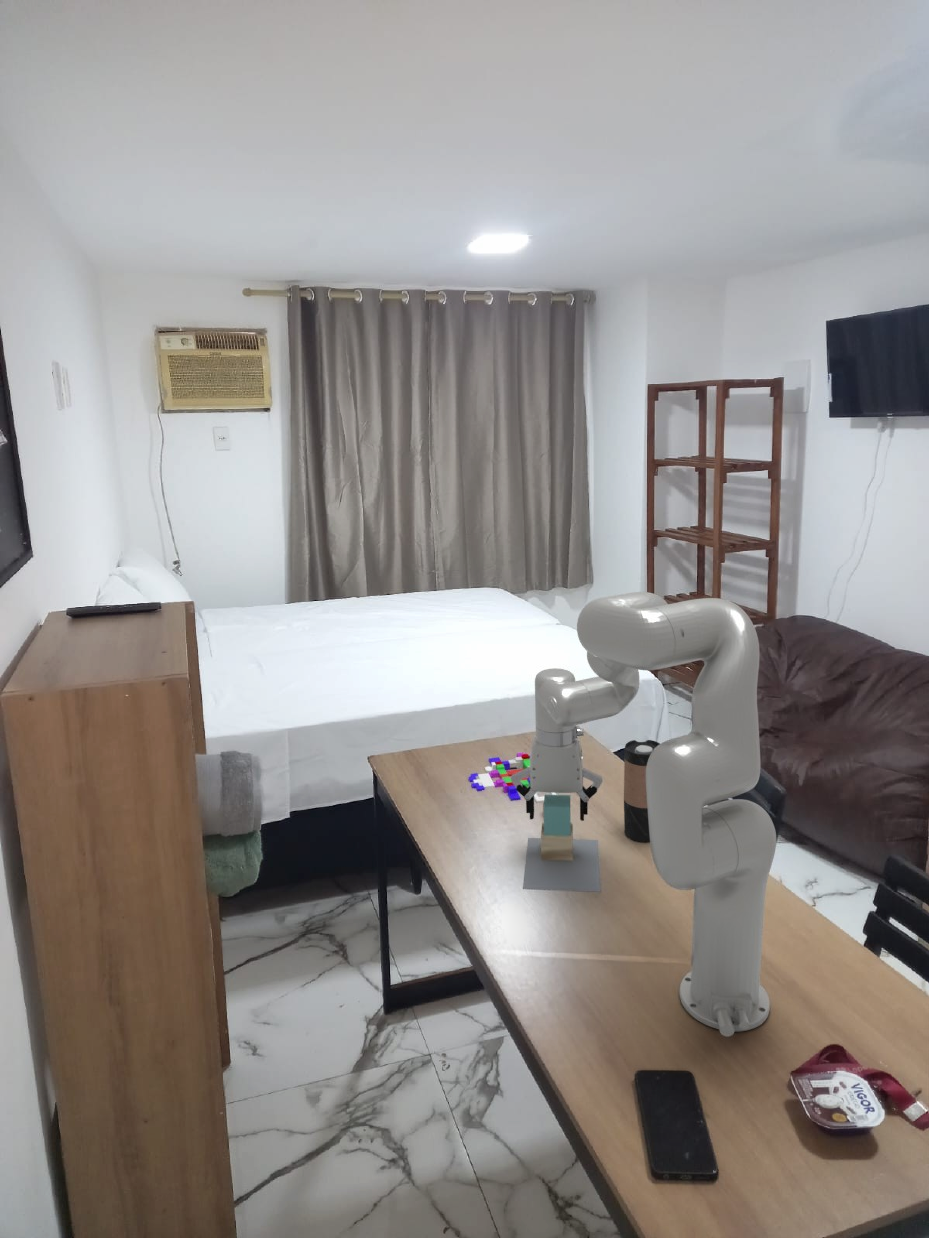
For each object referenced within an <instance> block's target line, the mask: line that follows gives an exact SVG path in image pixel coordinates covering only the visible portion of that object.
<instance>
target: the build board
mask: <svg viewBox="0 0 929 1238" xmlns="http://www.w3.org/2000/svg"><path fill="white" fill-rule="evenodd" d="M599 852H600V850H599V840H598V839H582V838H573V861H568V860H541V837H528V838H527V846H526V855H525V864H524V874H523V883H522V884H523V885H522V890H538V891H560V892H561V891H564V892H585V893H586V892H589V893H602V887H601V885H602V884H601V869H600V868H601V867H600V866H601V865H600V853H599Z"/></svg>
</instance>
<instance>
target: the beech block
mask: <svg viewBox="0 0 929 1238" xmlns="http://www.w3.org/2000/svg"><path fill="white" fill-rule="evenodd" d="M573 823H574V822H573V821H571V832H570V836H556V835H544V820H541V833H540V838H541V860H568V861H573V839H574V834H573V833H574V832H573V831H574V829H573Z"/></svg>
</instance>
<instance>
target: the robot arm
mask: <svg viewBox="0 0 929 1238" xmlns="http://www.w3.org/2000/svg"><path fill="white" fill-rule="evenodd" d="M576 632H577V637H578V638H577V639H578V640H579V642H580V645H581V646H582V648H584V650H585V651H586V659H587V663H588V665H589V667H590V669H591V671H593V672H594V674H595V675H596V676H594V677H589V678H585V679H584V678H583V679H579V680H576V677H575V675H574V673H572V672H571V671H570V670H569V669H564V668H547V669H543V670H540V671H539V672H537V674H536V675H535V678H534V704H535V705H534V708H535V709H534V710H535V712H534V713H535V714H534V715H535V736H534V737H533V738H532V741H531V744H530V745H531V746H530V751H529V752H530V753H529V756H530V767H528V768H526V769H524V768H523V769H524V770H521V771H519V772H517V773H515V774H513V775H512V776H510V779H511V781H512V782H513V784H514V786H515V787H516V790H517V791H518V794H519V795H520V796H521V795H522V797H523V798H524V800H525V806H526V807H525V808H526V809H525V811H526V814H529V820H533V819H535V799H534V795H535V793H536V792H552V793H556V794H557V793H558V794H559V793H560V794H564V793H565V794H570V793H571V794H575V793H576V795H577V796H578V797H579V819H580V821H581V822H584V821H585V816H586V815H588V814H589V813H588V811H589V810H588V807H589V805H588V802H589V801H590V799H591V798H592V797H593V796H595V794H597V792H598V789H599V788H600V787H601V785H602V783H603V777H602V776H601V775H599V774H597V773H596V772H593V771H592V770H590V769H587V768H585V767H584V761H583V759H584V758H583V750H582V743H581V740H580V738H579V737H584V736H585V732H584V728H580V727H578V726H579V725H582V724H586V723H589V722H593V721H599V720H602V719H608V718H611V717H614V716H616V715H618V714H620V713H621V712H622V711H623V710H624V709H625V708H626V707H628V706H629V704H630V703H631V702H632V701H633V700H634V699H635V698H636V696H637V695H638V692H639V689H640V672H639V670H640V671H655V670H662V669H667V668H672V667H675V666H680V665H684V664H689V663H692V662H693V663H694V662H697V661H702V662H703V663H704V664H703V667H702V669H701V671H700V672H699V675H698V676H697V678H696V681H695V684H694V686H693V690H692V695H691V701H690V702H691V713H692V716H691V717H692V721H691V722H692V725H691V730H690V732H689V733H688V734H685V735H682V736H677V737H673V738H671V739H667V740H665V741H663V742H661V743H660V744H659V745H658V746H657V747H656V748H655V749H654V750H653V751H652V753H651V755H650V757H649V759H648V762H647V766H646V794H647V807H648V821H649V834H650V843H649V844H650V852H651V856H652V860H653V863H654V866H655V869H656V870H657V871H656V872H657V873H658V874H659V876H660V878H661V879H662V881H664V883H666V884H667V885H668V886H669V887H671V888H673V889H676V890H678V891H679V890H680V891H691V890H694V891H693V904H692V905H693V906H692V907H693V909H692V931H691V932H692V936H691V937H692V938H691V962H690V965H691V966H690V967H691V968H690V971H689V972H688V973H685V975H684V976H683V978H682V979H681V981H680V984H679V999H680V1002H681V1004H682V1006H683V1007H684V1010H685V1011H686V1012H687V1013H689V1015H691V1016H692V1018H694V1019H695V1020H697V1021H699V1022H700V1023H702V1024H704V1025H706V1026H708V1027H711V1028H712V1029H713V1028H714V1029H717V1030H719V1032H720V1034H721V1036H723V1037H727V1038H728V1037H733V1035H734V1034H735V1032H744V1031H745V1032H746V1031H749V1030H753V1029H756V1028H757V1027H759V1026H761V1025H762V1024H764V1022H766V1020H767V1018H768V1017H769V1013H770V1008H771V1001H770V997H769V995H768V993H767V990H766V989H765V988H764V987H763V985H762V984H761V981H760V980H761V964H762V951H763V950H762V949H763V935H764V934H763V931H764V930H763V929H764V918H765V917H764V916H765V903H766V893H767V886H768V885H767V884H768V879H769V876H770V871H771V868H772V865H773V862H774V859H775V854H776V853H775V852H776V849H777V848H776V847H777V833H776V828H775V825H774V823H773V820H772V817H770V815H769V813H768V812H767V811H766V810H765V809H764V808H763V807H762V806H761V805H759V804H758V803H756V802H754V801H751V800H748V799H742V798H737V799H734V797H737V796H740V795H742V794H744V793H748V792H749V791H751V790H752V789H754V788H755V787H756V785H757V784H758V782H759V779H760V776H761V775H760V774H761V748H760V730H759V729H760V728H759V727H760V726H759V711H758V693H757V692H758V682H759V680H758V679H759V670H760V642H759V637H758V633H757V631H756V627H755V625H754V624H753V621H752V620H751V617H750V616H749V615H748V614H747V613H746V611H745V610H744V609H743V608H741V607H740V605H738V604H736V603H734V602H732V601H730V600H727V599H723V598H718V597H716V598H715V597H703V598H695V599H688V600H683V601H679V602H674V603H668V602H667V601H666V600H665V599H664V598H663V597H661V596H660V595H658V594H655V593H652V592H648V591H647V592H646V591H634V592H628V593H623V594H616V595H610V596H604V597H599V598H595V599H593V600H591V601H589V602H587V604H586V605H584V606H583V608H582V609H581V611H580V613H579V615H578V616H577V623H576ZM529 776H530V785H529V786H528V787H526V786H525V785H523V784H522V783H521V781H520V780H522V779H524V778H526V777H529ZM584 778H585V779H587V780H589V781H591V782H592V784H591V785H589V787H587V788H586V787H585V785H584ZM731 798H733V799H731ZM727 799H728V800H727Z"/></svg>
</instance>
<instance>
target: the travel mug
mask: <svg viewBox="0 0 929 1238" xmlns="http://www.w3.org/2000/svg"><path fill="white" fill-rule="evenodd" d="M659 744H661V743H660V742H658V741H657V740H656V741H655V740H653V739H652V740H651V739H647V740H645V741H637V740H636V739H632V740H630V741H627V742H626V743H625V745H624V762H623V764H624V765H623V766H624V767H623V768H624V770H623V816H624V817H623V821H624V824H623V825H624V836H625V837H626V838H627V839H629V840H630V841H633V842H636V843H640V844H650V834H649V821H648V807H647V794H646V766H647V762H648V759H649V757H650V755H651V753H652V751H653V750H654V749H655V748H656V747H657V746H658V745H659Z"/></svg>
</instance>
